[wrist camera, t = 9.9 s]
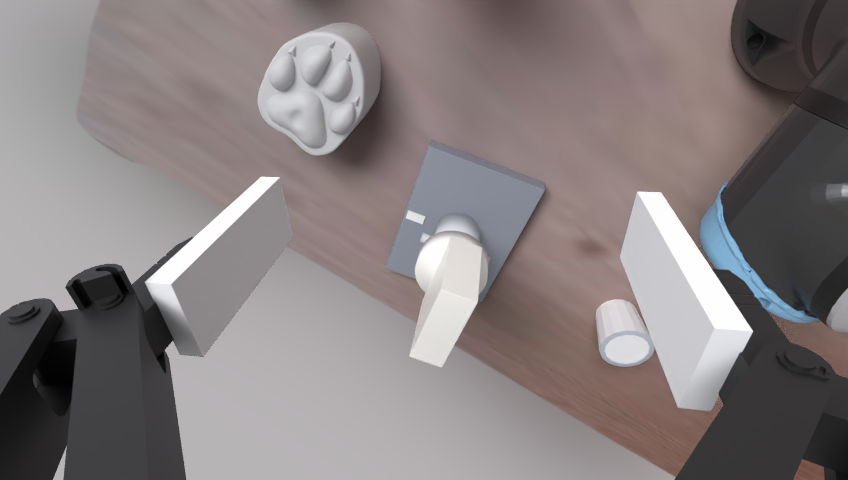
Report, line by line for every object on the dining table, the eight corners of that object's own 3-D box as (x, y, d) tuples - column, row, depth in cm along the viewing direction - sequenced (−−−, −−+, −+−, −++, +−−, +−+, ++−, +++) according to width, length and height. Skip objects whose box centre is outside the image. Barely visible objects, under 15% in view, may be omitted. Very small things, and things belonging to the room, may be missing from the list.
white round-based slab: (434, 214, 49) (416, 280, 39) (502, 240, 50) (502, 310, 40) (405, 286, 56) (383, 358, 46) (465, 308, 56) (457, 384, 46)
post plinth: (543, 182, 54) (549, 214, 47) (481, 294, 65) (479, 332, 59) (431, 139, 53) (421, 165, 47) (388, 260, 64) (374, 295, 58)
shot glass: (648, 300, 61) (663, 336, 55) (630, 334, 65) (643, 371, 59) (599, 292, 62) (609, 326, 56) (584, 326, 66) (592, 362, 60)
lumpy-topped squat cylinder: (274, 92, 53) (239, 113, 46) (326, -4, 46) (293, 3, 39) (344, 145, 56) (321, 173, 48) (403, 61, 49) (385, 79, 42)
